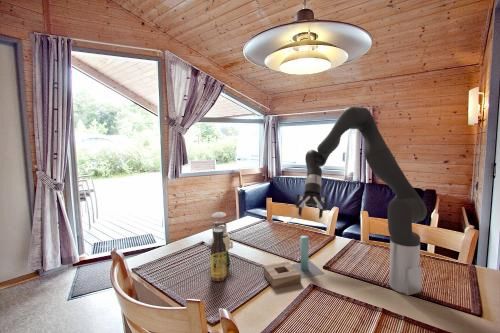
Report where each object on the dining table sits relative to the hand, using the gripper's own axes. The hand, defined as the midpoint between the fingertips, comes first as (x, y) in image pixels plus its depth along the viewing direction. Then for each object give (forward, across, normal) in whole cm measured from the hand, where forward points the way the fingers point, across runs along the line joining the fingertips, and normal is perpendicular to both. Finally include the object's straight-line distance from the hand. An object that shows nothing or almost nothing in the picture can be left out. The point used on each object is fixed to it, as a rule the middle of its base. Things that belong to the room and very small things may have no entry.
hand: (310, 217), depth 123 cm
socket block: (+29, -8, -4) cm, 31 cm away
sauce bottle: (+34, -32, -7) cm, 47 cm away
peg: (+22, 0, +3) cm, 23 cm away
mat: (+23, 0, +3) cm, 23 cm away
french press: (+9, -50, +24) cm, 56 cm away
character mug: (+26, -36, +2) cm, 44 cm away
